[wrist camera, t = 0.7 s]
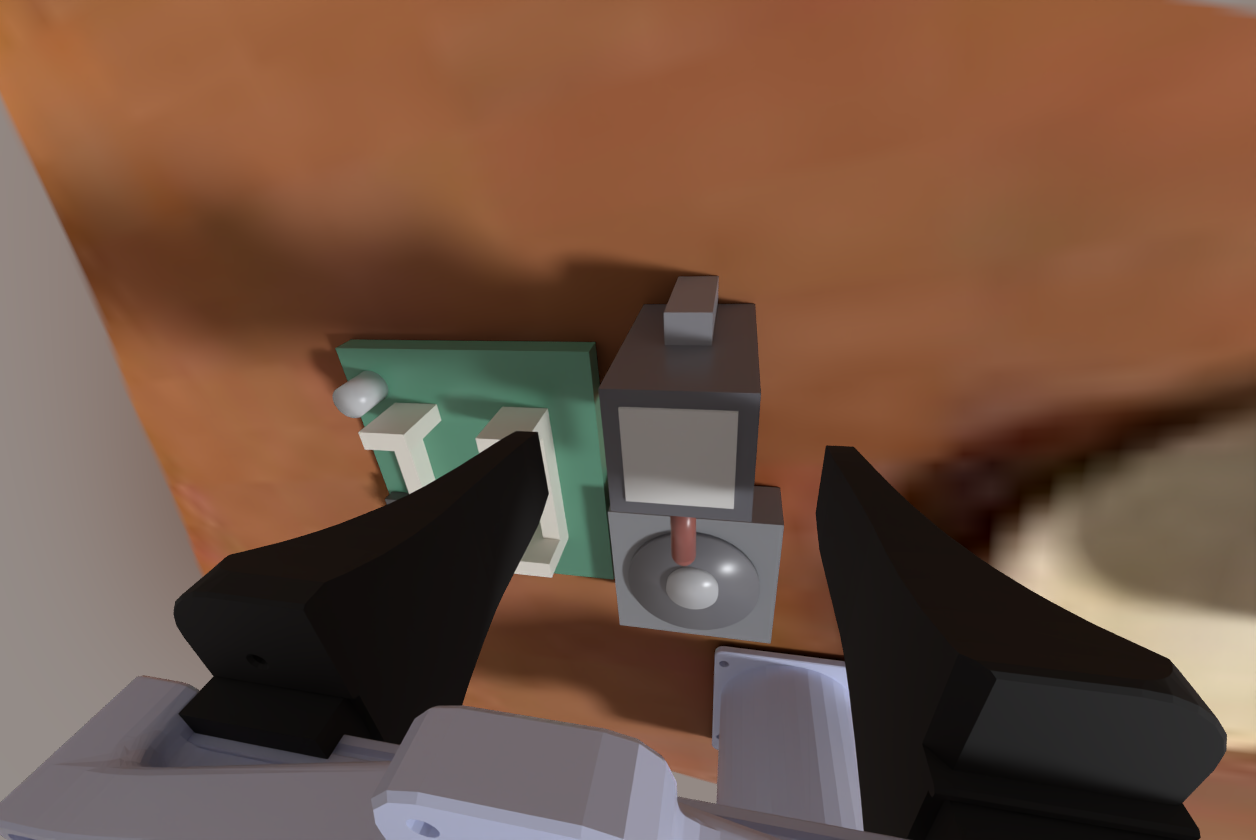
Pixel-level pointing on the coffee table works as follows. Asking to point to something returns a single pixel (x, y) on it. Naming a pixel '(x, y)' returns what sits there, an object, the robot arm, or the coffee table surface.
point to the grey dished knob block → (701, 572)
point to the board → (490, 428)
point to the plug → (684, 412)
